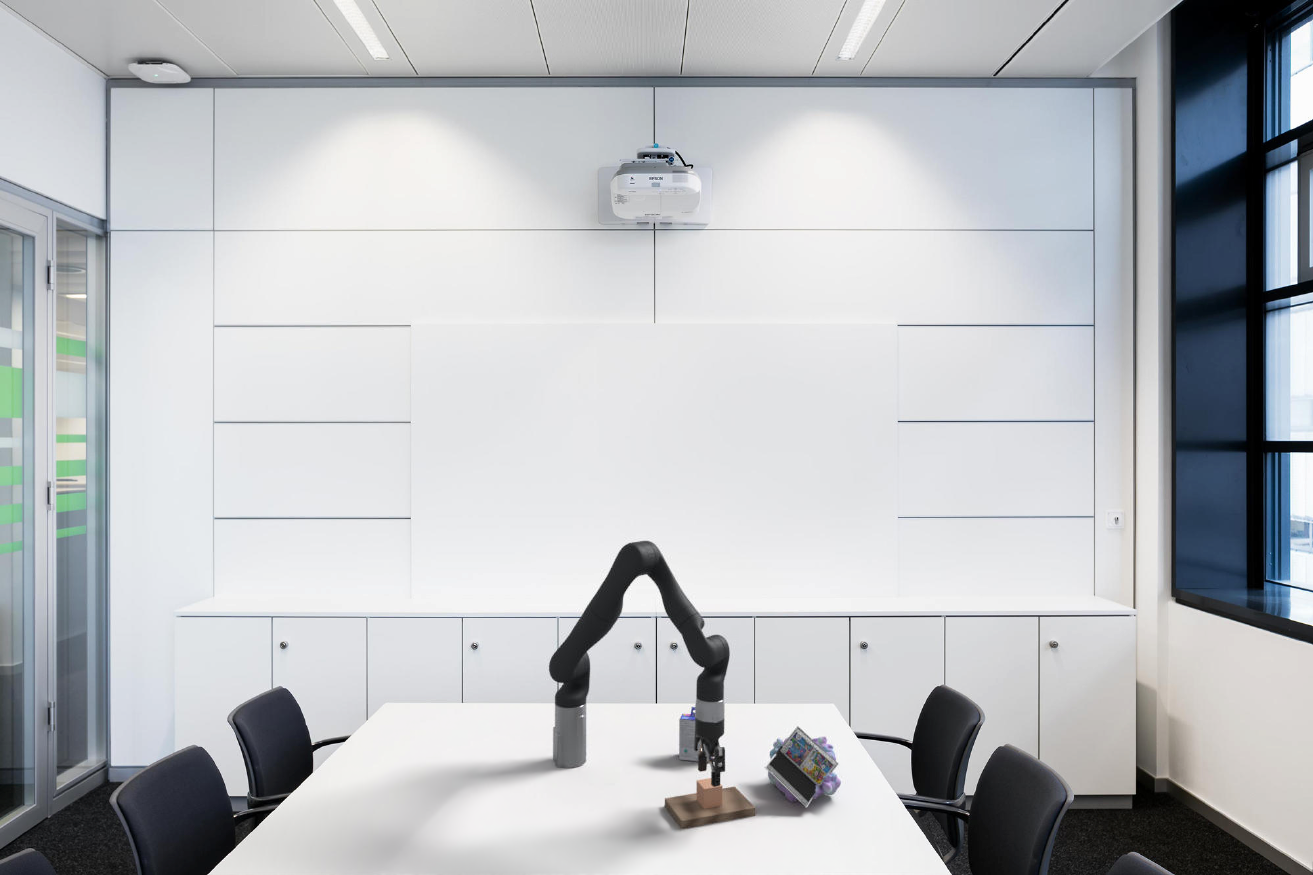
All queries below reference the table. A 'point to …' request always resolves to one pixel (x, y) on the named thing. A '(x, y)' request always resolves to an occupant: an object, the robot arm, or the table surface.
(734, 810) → the walnut board
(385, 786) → the table surface
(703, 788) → the terracotta cube
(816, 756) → the lumpy iridescent figurine
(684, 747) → the ink cartridge box
